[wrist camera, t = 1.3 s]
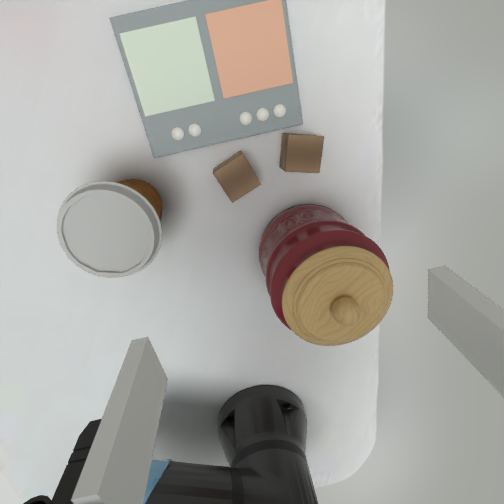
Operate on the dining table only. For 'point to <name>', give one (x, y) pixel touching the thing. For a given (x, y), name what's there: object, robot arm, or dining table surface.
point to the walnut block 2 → (301, 153)
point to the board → (210, 71)
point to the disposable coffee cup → (111, 227)
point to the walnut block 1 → (236, 176)
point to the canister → (324, 275)
